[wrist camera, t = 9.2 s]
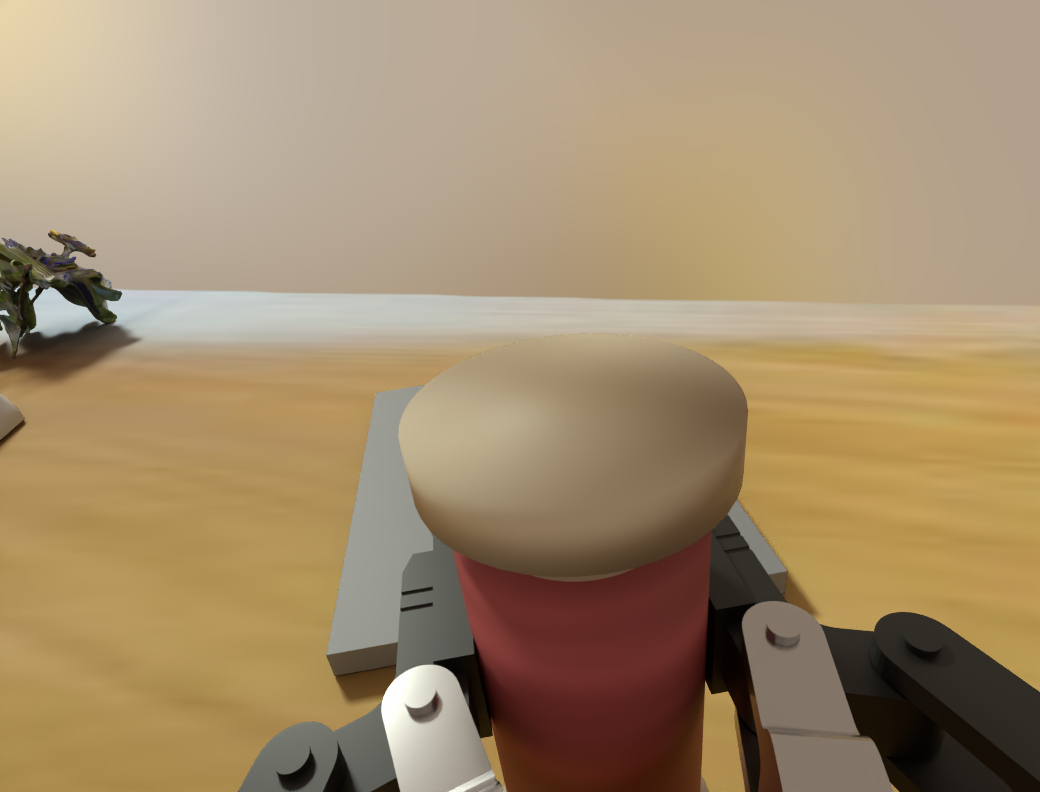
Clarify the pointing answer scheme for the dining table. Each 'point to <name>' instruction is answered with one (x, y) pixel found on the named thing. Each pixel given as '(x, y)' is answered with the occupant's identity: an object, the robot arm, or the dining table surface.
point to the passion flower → (48, 283)
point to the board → (411, 547)
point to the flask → (8, 416)
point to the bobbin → (584, 546)
